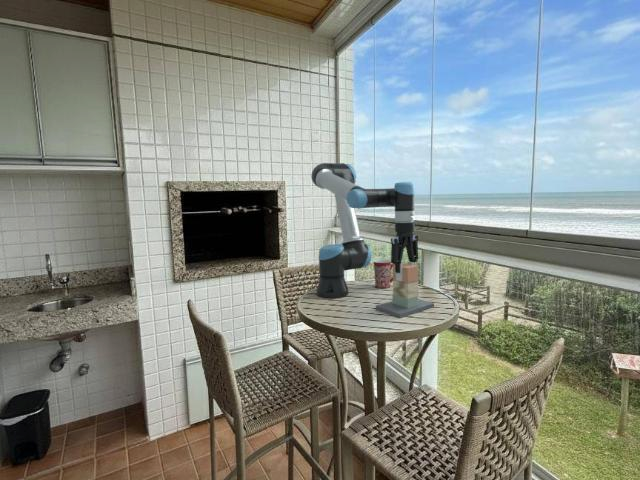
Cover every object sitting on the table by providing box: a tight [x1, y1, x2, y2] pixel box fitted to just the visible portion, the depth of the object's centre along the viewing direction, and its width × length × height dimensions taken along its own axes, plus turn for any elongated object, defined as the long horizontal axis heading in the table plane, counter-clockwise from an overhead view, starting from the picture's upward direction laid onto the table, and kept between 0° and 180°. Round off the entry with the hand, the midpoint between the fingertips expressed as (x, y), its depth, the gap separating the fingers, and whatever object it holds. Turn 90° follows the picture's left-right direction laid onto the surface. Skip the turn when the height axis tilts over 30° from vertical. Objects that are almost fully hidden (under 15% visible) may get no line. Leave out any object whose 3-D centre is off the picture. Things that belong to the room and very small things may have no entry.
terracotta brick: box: [392, 262, 420, 283], centre depth 133 cm, size 8×6×6 cm
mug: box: [372, 258, 395, 290], centre depth 167 cm, size 13×9×14 cm
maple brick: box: [392, 280, 419, 299], centre depth 134 cm, size 8×6×6 cm
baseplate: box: [375, 293, 435, 319], centre depth 135 cm, size 13×20×6 cm, turn 125°
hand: (405, 279), depth 134 cm, fingers closed on terracotta brick, 6 cm apart
